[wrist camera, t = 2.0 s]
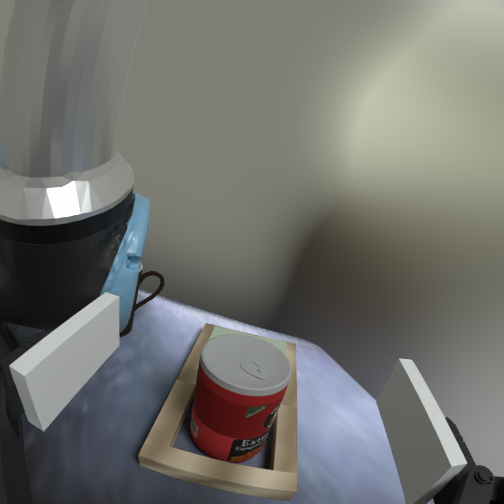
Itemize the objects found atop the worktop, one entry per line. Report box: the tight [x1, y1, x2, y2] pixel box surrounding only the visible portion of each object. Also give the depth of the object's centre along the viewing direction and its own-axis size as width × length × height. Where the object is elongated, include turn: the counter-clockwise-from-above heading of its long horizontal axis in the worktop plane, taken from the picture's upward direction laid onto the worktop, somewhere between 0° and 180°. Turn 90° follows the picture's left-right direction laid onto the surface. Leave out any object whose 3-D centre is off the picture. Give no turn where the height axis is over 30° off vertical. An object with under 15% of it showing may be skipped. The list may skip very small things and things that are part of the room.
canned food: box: [190, 334, 292, 463], centre depth 26 cm, size 8×8×11 cm
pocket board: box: [138, 323, 297, 500], centre depth 33 cm, size 14×26×2 cm, turn 174°
